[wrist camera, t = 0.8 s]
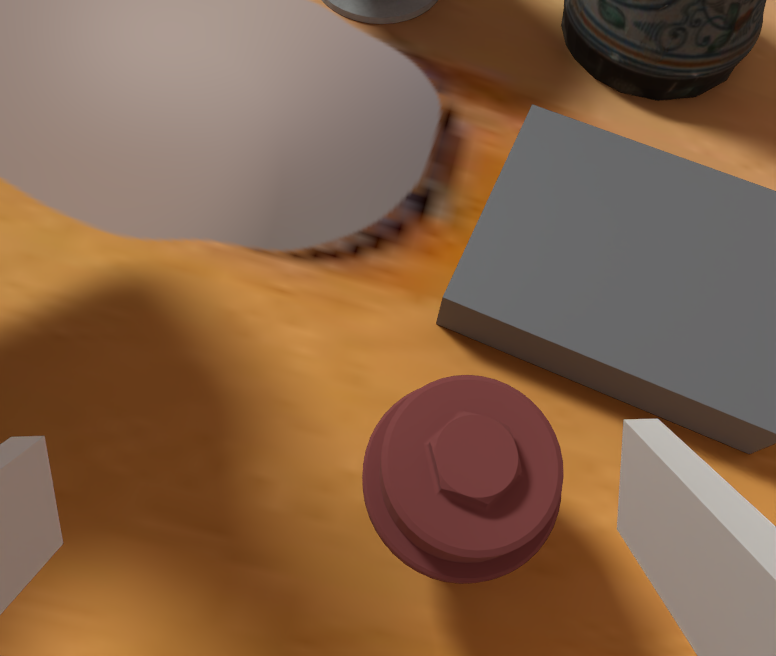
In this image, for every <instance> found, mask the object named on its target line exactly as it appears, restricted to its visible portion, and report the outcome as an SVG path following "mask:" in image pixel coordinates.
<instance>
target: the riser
mask: <svg viewBox="0 0 776 656" xmlns="http://www.w3.org/2000/svg"><path fill="white" fill-rule="evenodd" d="M436 324H438V325H440V326H443V327H445V328H448V329H450V330H452V331H455V332H457V333H460V334H462V335H464V336H467V337H469V338H472V339H474V340H476V341H479V342H481V343H484V344H486V345H488V346H491V347H493V348H496V349H498V350H500V351H503V352H505V353H508V354H510V355H512V356H515V357H517V358H520V359H522V360H524V361H527V362H529V363H532V364H534V365H536V366H539V367H541V368H544V369H546V370H548V371H551V372H553V373H556V374H558V375H560V376H563V377H565V378H568V379H570V380H572V381H575V382H577V383H580V384H582V385H584V386H587V387H589V388H592V389H594V390H596V391H599V392H601V393H604V394H606V395H608V396H611V397H613V398H616V399H618V400H620V401H623V402H625V403H628V404H630V405H632V406H635V407H637V408H640V409H642V410H644V411H647V412H649V413H652V414H654V415H656V416H659V417H661V418H664V419H666V420H668V421H671V422H673V423H676V424H678V425H680V426H683V427H685V428H688V429H690V430H692V431H695V432H697V433H700V434H702V435H704V436H707V437H709V438H712V439H714V440H716V441H719V442H721V443H724V444H726V445H728V446H731V447H733V448H736V449H738V450H740V451H743V452H745V453H748V454H751V453H754V452H756V451H758V450H761V449H763V448H766V447H768V446H770V445H773V444H775V443H776V191H774V190H771V189H768V188H765V187H763V186H760V185H757V184H754V183H751V182H749V181H746V180H743V179H740V178H737V177H735V176H732V175H729V174H726V173H723V172H721V171H718V170H715V169H712V168H709V167H707V166H704V165H701V164H698V163H695V162H692V161H690V160H687V159H684V158H681V157H678V156H676V155H673V154H670V153H667V152H664V151H662V150H659V149H656V148H653V147H650V146H648V145H645V144H642V143H639V142H636V141H634V140H631V139H628V138H625V137H622V136H620V135H617V134H614V133H611V132H608V131H606V130H603V129H600V128H597V127H594V126H592V125H589V124H586V123H583V122H580V121H578V120H575V119H572V118H569V117H566V116H563V115H561V114H558V113H555V112H552V111H549V110H547V109H544V108H541V107H538V106H535V105H533V104H532V106H531V108H530V110H529V113H528V115H527V117H526V119H525V121H524V123H523V125H522V128H521V130H520V132H519V134H518V136H517V138H516V141H515V143H514V145H513V147H512V149H511V151H510V153H509V156H508V158H507V160H506V162H505V164H504V166H503V169H502V171H501V173H500V175H499V177H498V179H497V181H496V184H495V186H494V188H493V190H492V192H491V194H490V197H489V199H488V201H487V203H486V205H485V207H484V209H483V212H482V214H481V216H480V218H479V220H478V222H477V225H476V227H475V229H474V231H473V233H472V235H471V237H470V240H469V242H468V244H467V246H466V248H465V250H464V253H463V255H462V257H461V259H460V261H459V263H458V265H457V268H456V270H455V272H454V274H453V276H452V278H451V281H450V283H449V285H448V287H447V289H446V291H445V293H444V296H443V298H442V302H441V306H440V310H439V314H438V318H437V322H436Z"/></svg>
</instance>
